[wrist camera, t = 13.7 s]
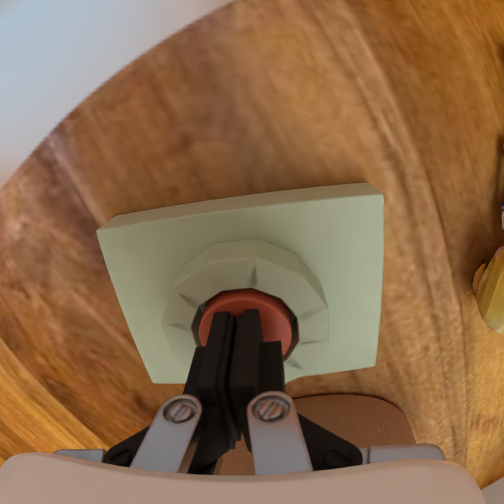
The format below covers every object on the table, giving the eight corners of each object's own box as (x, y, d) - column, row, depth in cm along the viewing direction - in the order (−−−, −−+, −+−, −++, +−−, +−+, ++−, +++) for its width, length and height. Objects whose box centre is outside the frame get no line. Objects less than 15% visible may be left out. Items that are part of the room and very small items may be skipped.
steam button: (214, 347, 15) (209, 373, 13) (197, 280, 13) (188, 303, 12) (292, 341, 14) (294, 367, 13) (285, 270, 13) (287, 293, 11)
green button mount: (162, 358, 18) (143, 407, 15) (115, 215, 15) (74, 246, 11) (366, 340, 17) (384, 391, 14) (368, 181, 14) (401, 205, 10)
